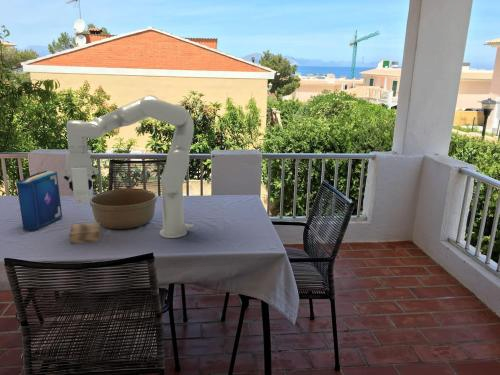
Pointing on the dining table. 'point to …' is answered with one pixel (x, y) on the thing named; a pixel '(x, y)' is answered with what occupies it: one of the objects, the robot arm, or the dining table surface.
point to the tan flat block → (85, 233)
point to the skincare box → (80, 184)
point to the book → (39, 200)
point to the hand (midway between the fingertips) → (81, 189)
